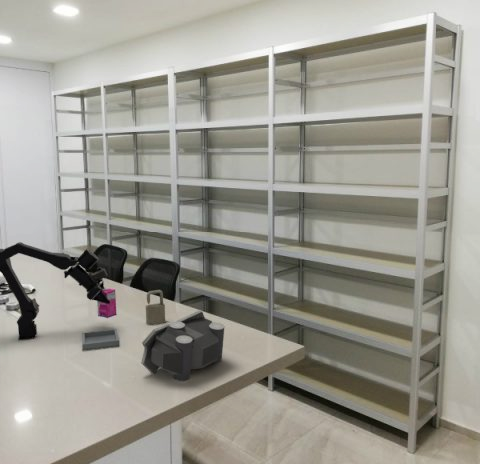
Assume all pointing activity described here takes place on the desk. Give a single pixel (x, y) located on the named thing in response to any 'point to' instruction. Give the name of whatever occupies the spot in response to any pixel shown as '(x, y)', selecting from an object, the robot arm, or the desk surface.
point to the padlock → (155, 309)
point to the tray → (100, 339)
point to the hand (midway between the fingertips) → (109, 300)
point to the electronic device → (184, 346)
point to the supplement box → (105, 308)
